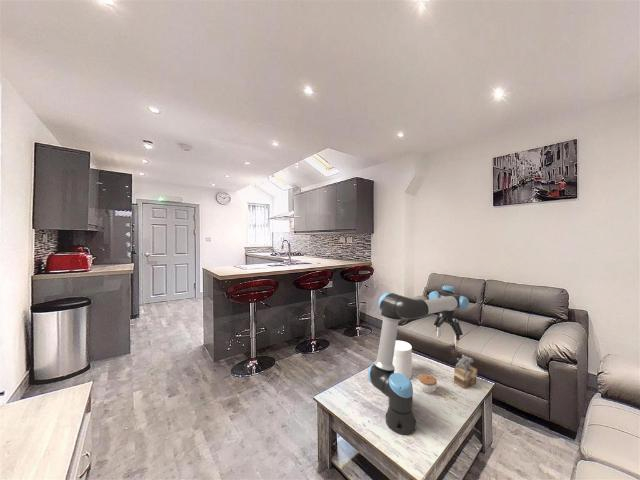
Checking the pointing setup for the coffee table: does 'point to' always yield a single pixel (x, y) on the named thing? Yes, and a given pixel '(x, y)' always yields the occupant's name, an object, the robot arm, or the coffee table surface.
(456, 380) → the tower base
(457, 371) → the light wooden block
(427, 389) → the lidded jar
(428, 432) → the coffee table surface
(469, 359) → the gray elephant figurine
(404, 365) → the canister
